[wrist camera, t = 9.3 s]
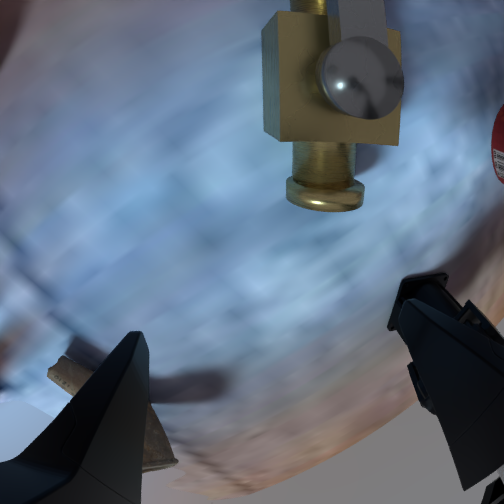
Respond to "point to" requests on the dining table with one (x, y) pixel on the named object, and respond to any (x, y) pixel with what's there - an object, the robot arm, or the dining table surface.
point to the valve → (315, 111)
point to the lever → (359, 61)
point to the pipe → (155, 440)
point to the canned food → (498, 145)
